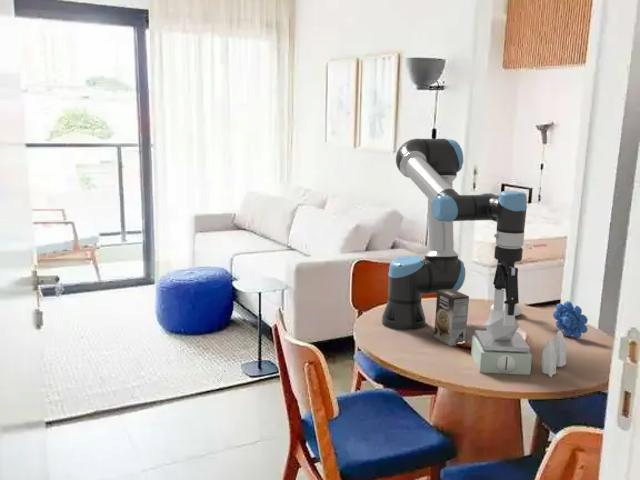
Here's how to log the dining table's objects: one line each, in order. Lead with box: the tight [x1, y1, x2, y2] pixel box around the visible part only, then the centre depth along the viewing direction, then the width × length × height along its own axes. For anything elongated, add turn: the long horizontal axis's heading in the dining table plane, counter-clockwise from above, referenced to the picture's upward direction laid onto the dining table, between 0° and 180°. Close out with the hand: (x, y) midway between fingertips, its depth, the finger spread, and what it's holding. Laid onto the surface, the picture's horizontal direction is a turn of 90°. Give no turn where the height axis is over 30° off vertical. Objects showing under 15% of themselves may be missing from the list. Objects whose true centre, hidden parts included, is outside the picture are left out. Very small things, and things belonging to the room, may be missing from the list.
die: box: [484, 311, 520, 340], centre depth 173 cm, size 8×9×10 cm
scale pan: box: [474, 329, 531, 353], centre depth 173 cm, size 13×13×1 cm
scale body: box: [470, 334, 533, 376], centre depth 174 cm, size 15×14×7 cm
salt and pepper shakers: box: [541, 330, 567, 378], centre depth 171 cm, size 12×4×11 cm, turn 136°
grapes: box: [552, 300, 589, 339], centre depth 197 cm, size 12×7×12 cm, turn 45°
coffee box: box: [433, 289, 470, 347], centre depth 192 cm, size 9×6×16 cm
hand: (503, 317), depth 172 cm, fingers open, 13 cm apart
